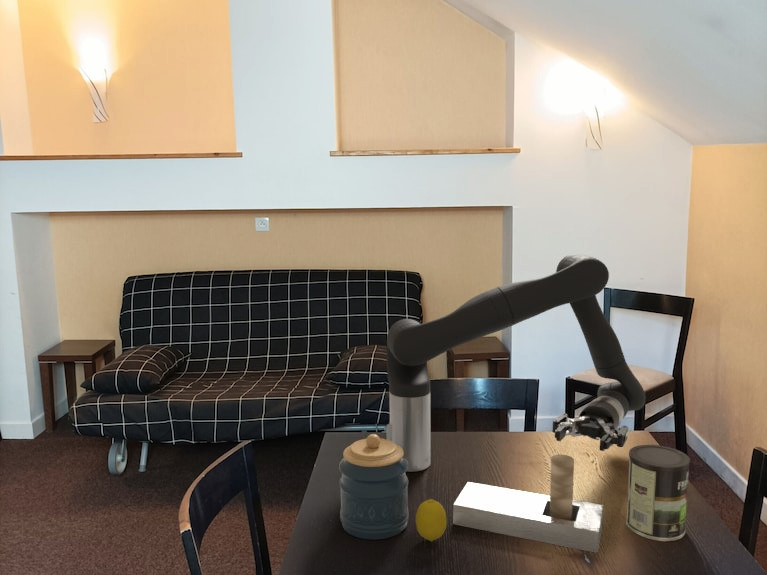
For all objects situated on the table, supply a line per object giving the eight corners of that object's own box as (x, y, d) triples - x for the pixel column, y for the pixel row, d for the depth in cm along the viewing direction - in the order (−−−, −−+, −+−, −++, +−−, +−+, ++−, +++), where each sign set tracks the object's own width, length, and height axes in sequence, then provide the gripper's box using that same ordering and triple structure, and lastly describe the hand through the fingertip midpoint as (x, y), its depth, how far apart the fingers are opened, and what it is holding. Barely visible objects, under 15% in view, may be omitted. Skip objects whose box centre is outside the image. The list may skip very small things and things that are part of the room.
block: (453, 524, 123) (453, 504, 122) (467, 500, 132) (467, 481, 132) (597, 553, 113) (598, 531, 112) (602, 525, 122) (603, 505, 121)
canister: (396, 546, 116) (395, 452, 113) (329, 535, 120) (326, 444, 117) (416, 511, 128) (416, 426, 125) (355, 502, 132) (353, 419, 129)
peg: (547, 534, 119) (549, 461, 117) (550, 523, 123) (553, 453, 121) (570, 538, 118) (572, 465, 116) (572, 527, 121) (575, 456, 119)
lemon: (449, 535, 119) (449, 494, 118) (442, 551, 114) (442, 509, 113) (420, 530, 121) (420, 490, 120) (412, 546, 116) (411, 504, 115)
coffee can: (689, 521, 123) (693, 450, 121) (681, 547, 114) (685, 472, 112) (631, 508, 128) (635, 439, 126) (619, 532, 120) (623, 459, 117)
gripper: (570, 394, 145) (545, 415, 131) (637, 406, 137) (618, 430, 124) (568, 426, 146) (543, 451, 132) (635, 440, 138) (615, 468, 125)
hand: (579, 441), depth 128 cm, fingers open, 8 cm apart
